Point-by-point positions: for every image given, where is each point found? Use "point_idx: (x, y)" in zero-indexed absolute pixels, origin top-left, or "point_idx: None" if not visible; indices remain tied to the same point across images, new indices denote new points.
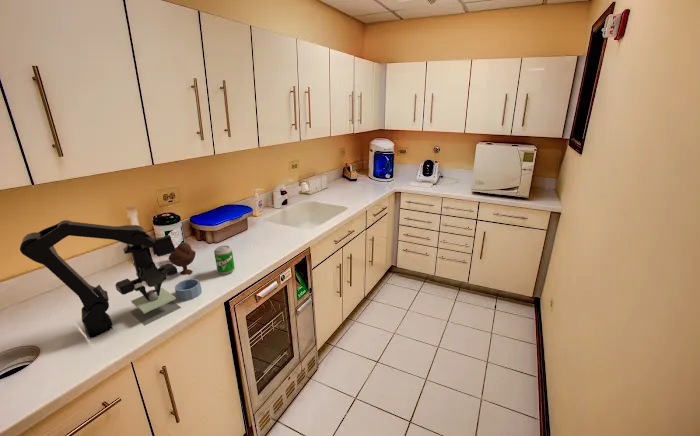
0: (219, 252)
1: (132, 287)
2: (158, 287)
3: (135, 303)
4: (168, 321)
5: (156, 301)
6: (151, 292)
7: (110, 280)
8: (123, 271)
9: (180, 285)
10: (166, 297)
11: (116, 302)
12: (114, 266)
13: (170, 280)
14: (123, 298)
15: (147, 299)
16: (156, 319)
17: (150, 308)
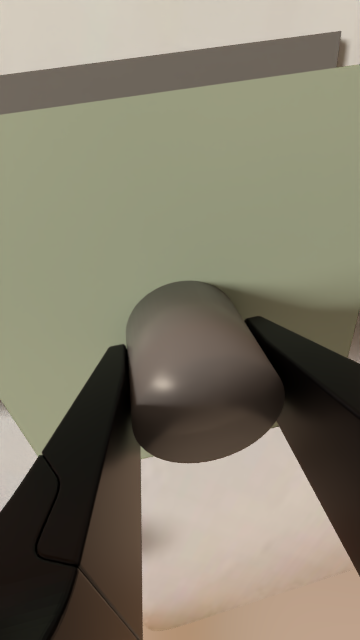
0: None
1: None
2: (81, 469)
3: (340, 354)
4: None
5: (171, 244)
6: (216, 406)
7: (233, 575)
8: (182, 603)
9: None
10: (17, 256)
11: (285, 464)
12: (194, 621)
13: None
14: (251, 478)
15: (270, 322)
16: (213, 55)
17: (313, 77)
